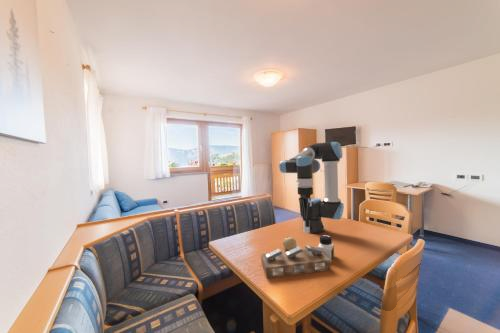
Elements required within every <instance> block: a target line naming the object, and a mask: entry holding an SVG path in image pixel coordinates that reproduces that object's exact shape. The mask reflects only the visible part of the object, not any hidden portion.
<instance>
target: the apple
mask: <svg viewBox="0 0 500 333" xmlns="http://www.w3.org/2000/svg"><path fill="white" fill-rule="evenodd" d="M282 245H283V248H284V249H286V250H287V251H290V250H292V249H294V248H296V247H297V240H296V239H295V238H294V237H292V236H289V237H285V238H284V239H283V242H282Z"/></svg>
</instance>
